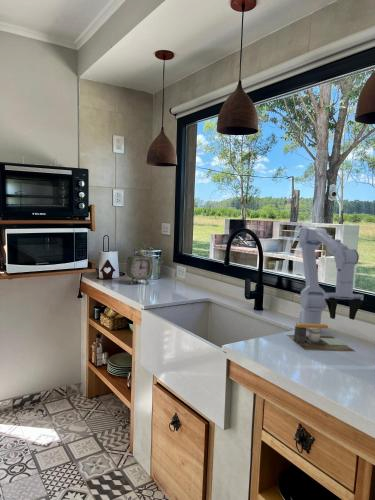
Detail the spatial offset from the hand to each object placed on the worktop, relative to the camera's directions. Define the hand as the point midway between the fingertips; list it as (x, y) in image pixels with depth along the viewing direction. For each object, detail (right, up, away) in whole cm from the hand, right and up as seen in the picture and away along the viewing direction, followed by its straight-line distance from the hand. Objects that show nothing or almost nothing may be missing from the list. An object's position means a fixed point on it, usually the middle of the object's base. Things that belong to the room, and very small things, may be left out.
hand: (342, 318), depth 135 cm
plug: (-10, -9, +1) cm, 14 cm away
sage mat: (-2, -9, +3) cm, 10 cm away
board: (-8, -10, +1) cm, 13 cm away
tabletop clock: (-88, +4, +92) cm, 127 cm away
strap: (-11, -3, 0) cm, 11 cm away
